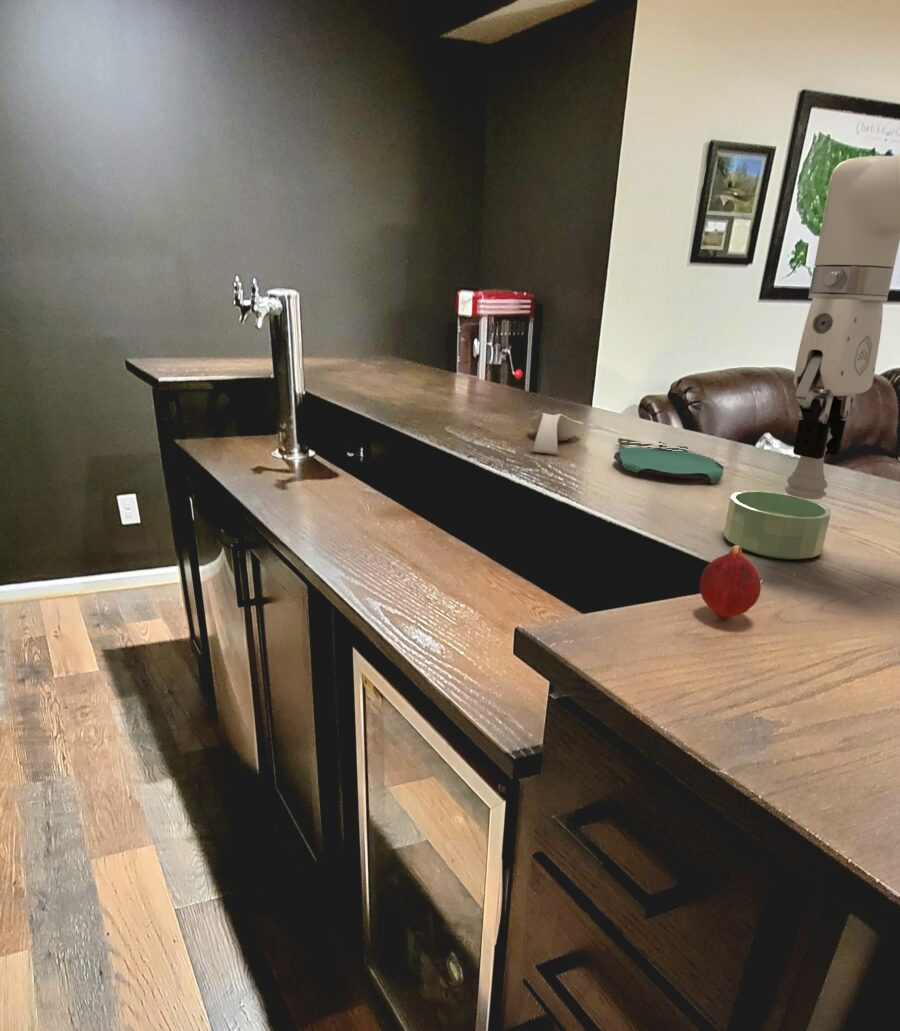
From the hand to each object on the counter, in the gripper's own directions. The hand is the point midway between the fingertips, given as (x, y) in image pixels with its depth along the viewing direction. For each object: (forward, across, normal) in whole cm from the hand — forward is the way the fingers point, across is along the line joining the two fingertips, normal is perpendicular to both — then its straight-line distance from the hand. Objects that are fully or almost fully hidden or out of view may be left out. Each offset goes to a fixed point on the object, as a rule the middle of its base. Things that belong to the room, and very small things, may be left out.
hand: (816, 452), depth 82 cm
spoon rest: (+14, +30, +66) cm, 74 cm away
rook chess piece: (+5, 0, 0) cm, 5 cm away
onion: (+16, -18, -1) cm, 24 cm away
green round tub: (+15, +9, +7) cm, 19 cm away
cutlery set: (+15, +36, +43) cm, 58 cm away
